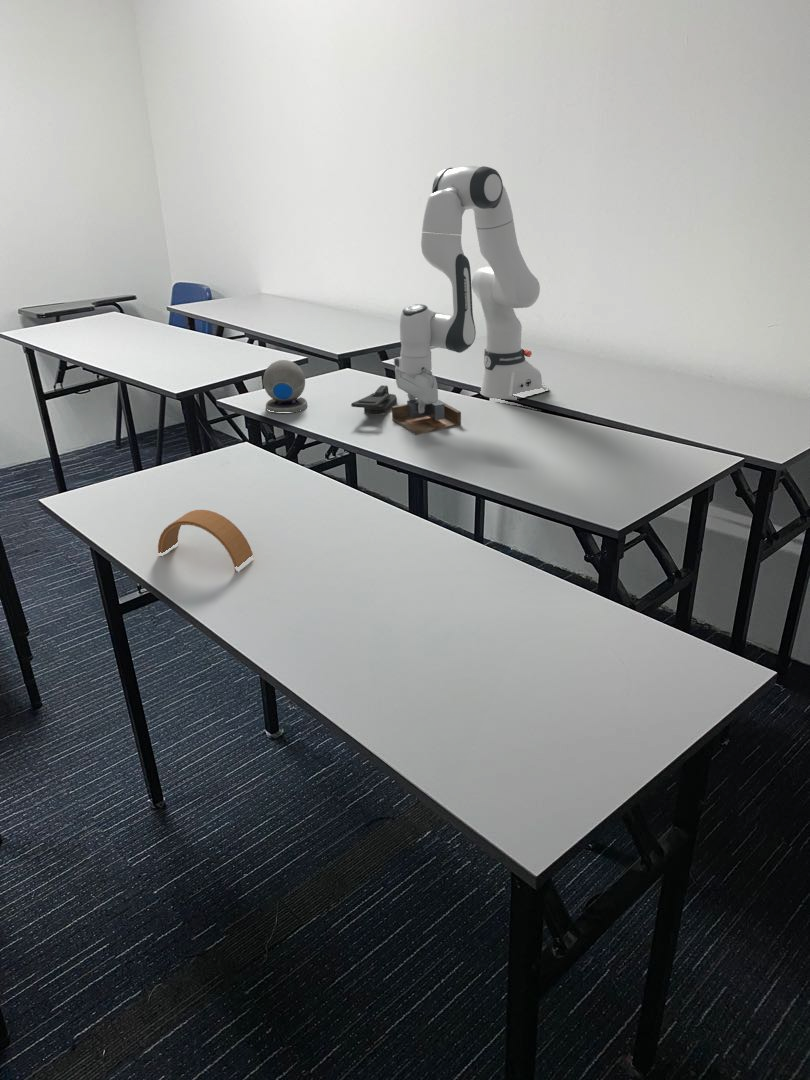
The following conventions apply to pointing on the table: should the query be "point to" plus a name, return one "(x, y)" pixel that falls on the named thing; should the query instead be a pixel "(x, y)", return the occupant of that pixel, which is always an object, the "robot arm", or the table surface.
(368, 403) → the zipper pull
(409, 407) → the angle bracket
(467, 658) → the table surface
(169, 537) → the arch
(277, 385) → the webcam
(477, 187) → the robot arm
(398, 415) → the corner arena
